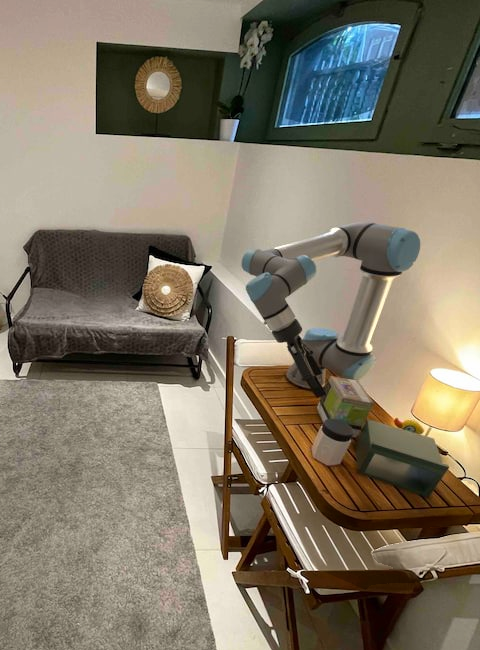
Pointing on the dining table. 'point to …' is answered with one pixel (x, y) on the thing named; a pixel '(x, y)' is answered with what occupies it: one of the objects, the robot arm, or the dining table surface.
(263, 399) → the dining table surface
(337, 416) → the tea box
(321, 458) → the jar
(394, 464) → the shelf
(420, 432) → the duckling
